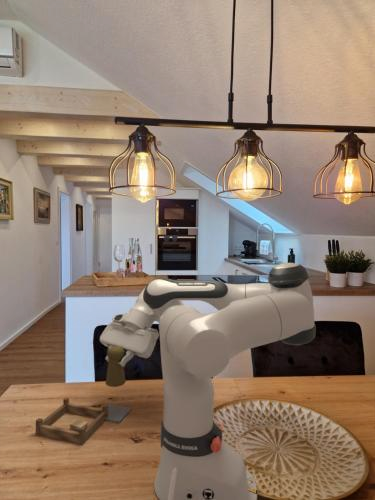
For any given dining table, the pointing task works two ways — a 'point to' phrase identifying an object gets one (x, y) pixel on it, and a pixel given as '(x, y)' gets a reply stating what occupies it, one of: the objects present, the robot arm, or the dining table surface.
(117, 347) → the cork
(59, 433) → the frame
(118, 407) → the slate coaster
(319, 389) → the dining table surface
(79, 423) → the offcut stack
